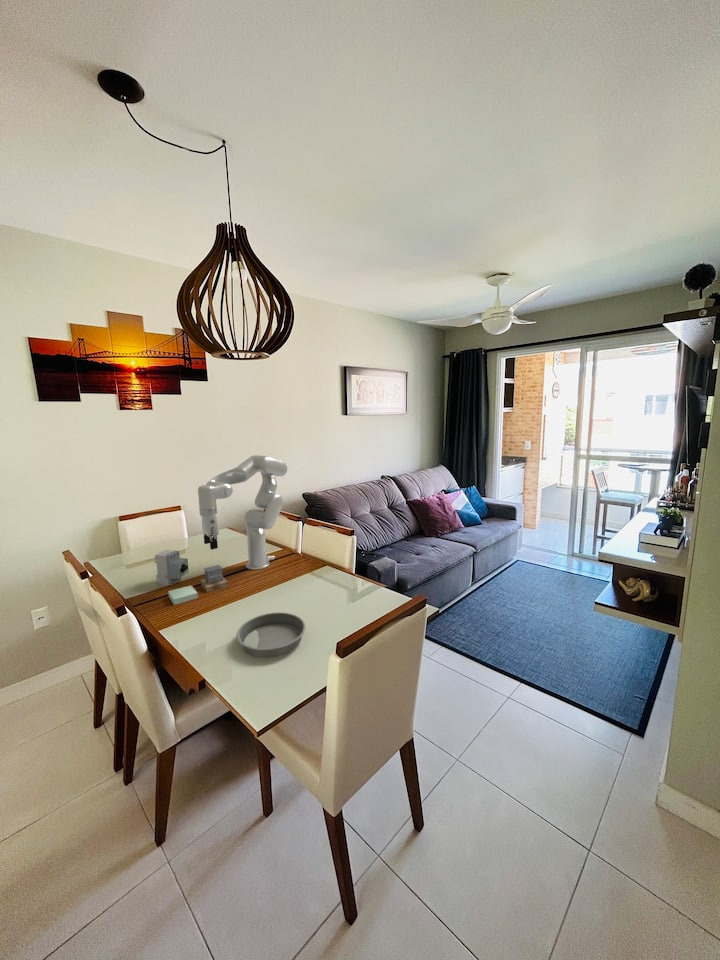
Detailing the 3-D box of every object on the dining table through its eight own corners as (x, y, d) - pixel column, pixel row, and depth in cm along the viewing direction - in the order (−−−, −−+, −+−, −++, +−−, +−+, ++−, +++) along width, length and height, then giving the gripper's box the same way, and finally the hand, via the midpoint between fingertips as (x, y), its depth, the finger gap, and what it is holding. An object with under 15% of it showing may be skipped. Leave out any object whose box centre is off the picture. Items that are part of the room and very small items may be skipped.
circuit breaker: (182, 586, 184) (180, 557, 181) (156, 583, 186) (154, 554, 184) (192, 579, 191) (190, 551, 188) (167, 577, 194) (164, 549, 191)
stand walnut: (221, 579, 191) (221, 575, 191) (228, 586, 183) (228, 581, 183) (200, 585, 185) (200, 580, 184) (207, 592, 177) (206, 587, 177)
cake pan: (274, 616, 157) (273, 605, 156) (319, 635, 143) (319, 624, 142) (223, 645, 137) (222, 633, 136) (269, 670, 123) (269, 658, 122)
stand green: (191, 590, 179) (191, 585, 179) (197, 598, 172) (197, 592, 171) (168, 596, 173) (168, 591, 173) (174, 604, 166) (173, 599, 165)
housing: (219, 577, 188) (218, 564, 187) (223, 580, 184) (222, 567, 183) (205, 581, 183) (204, 568, 182) (208, 584, 180) (207, 571, 178)
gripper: (222, 513, 173) (224, 549, 176) (210, 506, 187) (213, 539, 190) (205, 516, 169) (208, 552, 172) (194, 509, 182) (197, 542, 185)
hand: (210, 546), depth 181 cm, fingers open, 9 cm apart
